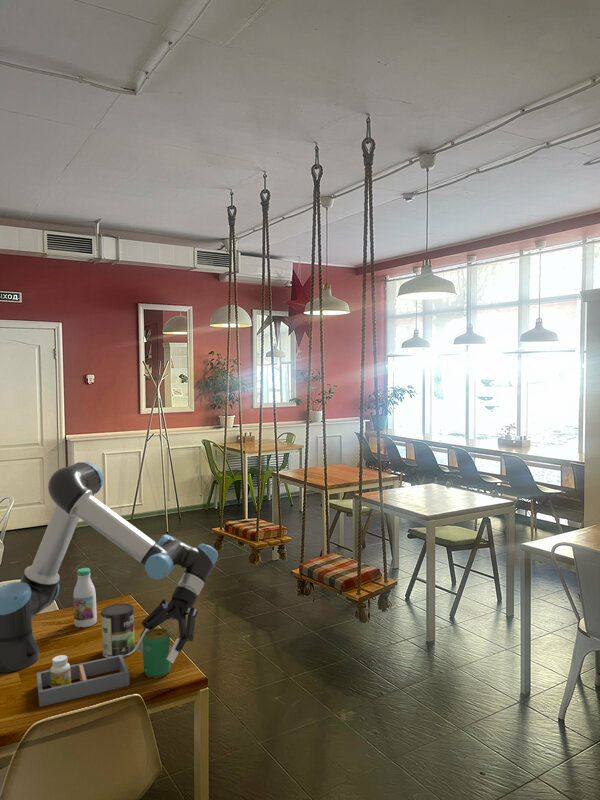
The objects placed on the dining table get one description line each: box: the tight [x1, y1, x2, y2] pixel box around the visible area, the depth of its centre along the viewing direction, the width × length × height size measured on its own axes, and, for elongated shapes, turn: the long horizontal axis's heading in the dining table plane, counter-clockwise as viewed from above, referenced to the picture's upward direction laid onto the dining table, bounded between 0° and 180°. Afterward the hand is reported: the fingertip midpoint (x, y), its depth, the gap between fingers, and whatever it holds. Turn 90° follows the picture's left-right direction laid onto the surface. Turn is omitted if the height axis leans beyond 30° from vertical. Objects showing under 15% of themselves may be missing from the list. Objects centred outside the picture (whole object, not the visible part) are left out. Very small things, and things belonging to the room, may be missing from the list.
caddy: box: [36, 655, 131, 708], centre depth 177 cm, size 12×24×4 cm, turn 116°
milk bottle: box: [72, 567, 98, 628], centre depth 222 cm, size 8×8×20 cm
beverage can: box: [142, 627, 172, 678], centre depth 184 cm, size 8×8×12 cm
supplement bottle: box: [49, 654, 72, 688], centre depth 174 cm, size 5×5×10 cm
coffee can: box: [100, 603, 136, 658], centre depth 199 cm, size 10×10×14 cm
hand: (153, 656), depth 183 cm, fingers open, 13 cm apart
